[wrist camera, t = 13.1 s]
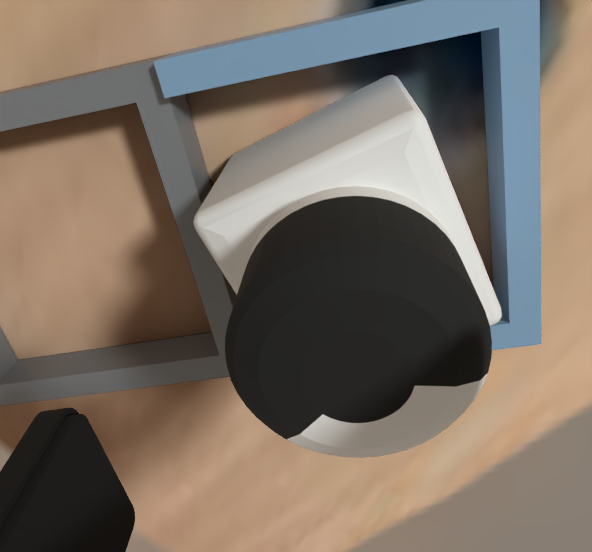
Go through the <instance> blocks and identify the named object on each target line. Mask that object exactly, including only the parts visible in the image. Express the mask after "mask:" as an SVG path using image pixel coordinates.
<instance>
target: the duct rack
mask: <svg viewBox="0 0 592 552" xmlns="http://www.w3.org/2000/svg"><path fill="white" fill-rule="evenodd" d="M479 31H481V46H482V66H483V86H484V106H485V127H486V147H487V167H488V187H489V207H490V227H491V247H492V268H493V288H494V292H495V294H496V297H497V299H498V302H499V304H500V307H501V313H502V317H501V319H500V321H499V322H497V323H496V324H494V325H491V326H490V330H491V338H492V350H498V349H505V348H513V347H521V346H529V345H537V344H541V199H540V0H407V1H403V2H398V3H394V4H389V5H385V6H380V7H376V8H372V9H367V10H363V11H358V12H354V13H349V14H345V15H341V16H336V17H332V18H327V19H323V20H318V21H314V22H309V23H305V24H301V25H296V26H292V27H287V28H283V29H278V30H274V31H269V32H265V33H261V34H256V35H252V36H247V37H243V38H238V39H234V40H230V41H225V42H221V43H216V44H212V45H207V46H203V47H198V48H194V49H190V50H185V51H181V52H176V53H172V54H167V55H163V56H158V57H154V58H150V59H145V60H141V61H136V62H132V63H127V64H123V65H118V66H114V67H110V68H105V69H101V70H96V71H92V72H87V73H83V74H79V75H74V76H70V77H65V78H61V79H56V80H52V81H47V82H43V83H39V84H34V85H30V86H25V87H21V88H16V89H12V90H7V91H3V92H0V132H1V131H6V130H10V129H15V128H20V127H24V126H29V125H34V124H38V123H43V122H48V121H52V120H57V119H62V118H67V117H71V116H76V115H81V114H85V113H90V112H95V111H99V110H104V109H109V108H114V107H118V106H123V105H128V104H132V103H137V106H138V109H139V112H140V115H141V118H142V121H143V124H144V127H145V130H146V133H147V137H148V140H149V143H150V146H151V149H152V152H153V155H154V158H155V161H156V164H157V167H158V170H159V173H160V176H161V179H162V182H163V185H164V188H165V191H166V194H167V197H168V200H169V203H170V206H171V209H172V212H173V215H174V218H175V221H176V225H177V228H178V231H179V234H180V237H181V240H182V243H183V246H184V249H185V252H186V255H187V258H188V261H189V264H190V267H191V270H192V273H193V276H194V279H195V282H196V285H197V288H198V291H199V294H200V297H201V300H202V303H203V306H204V309H205V312H206V316H207V319H208V322H209V325H210V328H211V331H212V333H205V334H198V335H191V336H184V337H177V338H170V339H163V340H156V341H149V342H141V343H134V344H127V345H120V346H113V347H106V348H99V349H92V350H85V351H78V352H71V353H64V354H57V355H50V356H43V357H36V358H29V359H22V360H18V359H17V357H16V355H15V353H14V351H13V350H12V348H11V346H10V344H9V342H8V340H7V338H6V337H5V335H4V333H3V331H2V329H1V327H0V406H5V405H12V404H20V403H28V402H36V401H43V400H51V399H59V398H67V397H75V396H82V395H90V394H98V393H106V392H113V391H121V390H129V389H137V388H145V387H152V386H160V385H168V384H176V383H183V382H191V381H199V380H207V379H215V378H222V377H230V375H229V371H228V368H227V363H226V356H225V336H226V331H227V326H228V321H229V318H230V315H231V312H232V309H233V306H234V302H235V299H236V296H237V295H236V293H235V291H234V290H233V288H232V287H231V285H230V283H229V282H228V280H227V279H226V277H225V276H224V274H223V272H222V271H221V269H220V268H219V266H218V265H217V263H216V261H215V260H214V258H213V257H212V255H211V253H210V252H209V250H208V249H207V247H206V246H205V244H204V242H203V241H202V239H201V238H200V236H199V234H198V233H197V231H196V230H195V227H194V223H193V221H194V217H195V215H196V213H197V211H198V210H199V208H200V207H201V205H202V203H203V202H204V200H205V198H206V197H207V195H208V194H209V192H210V190H211V189H212V186H211V183H210V179H209V176H208V172H207V169H206V165H205V162H204V159H203V155H202V152H201V148H200V145H199V141H198V138H197V134H196V131H195V127H194V124H193V120H192V117H191V113H190V110H189V107H188V103H187V100H186V96H185V94H188V93H192V92H197V91H202V90H206V89H211V88H216V87H220V86H225V85H230V84H235V83H239V82H244V81H249V80H253V79H258V78H263V77H268V76H272V75H277V74H282V73H286V72H291V71H296V70H300V69H305V68H310V67H315V66H319V65H324V64H329V63H333V62H338V61H343V60H348V59H352V58H357V57H362V56H366V55H371V54H376V53H380V52H385V51H390V50H395V49H399V48H404V47H409V46H413V45H418V44H423V43H428V42H432V41H437V40H442V39H446V38H451V37H456V36H460V35H465V34H470V33H475V32H479Z"/></svg>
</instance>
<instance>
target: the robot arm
mask: <svg viewBox="0 0 592 552" xmlns="http://www.w3.org/2000/svg"><path fill="white" fill-rule="evenodd" d="M134 522H135V512H134V508H133V505H132V503H131V501H130V500H129V498H128V496H127V494H126V492H125V490H124V488H123V486H122V484H121V482H120V480H119V479H118V477H117V475H116V473H115V471H114V469H113V467H112V465H111V463H110V461H109V459H108V457H107V456H106V454H105V452H104V450H103V448H102V446H101V444H100V442H99V440H98V438H97V436H96V434H95V433H94V431H93V429H92V427H91V425H90V423H89V421H88V419H87V418H86V416H84V415H83V414H79V413H78V412H77V411H76V410H75V409H73V408H63V409H56V410H49V411H43V412H40V413H39V414H38V415H37V416H36V417H35V418H34V420H33V422H32V423H31V425H30V426H29V428H28V429H27V431H26V432H25V434H24V436H23V437H22V439H21V440H20V442H19V443H18V445H17V446H16V448H15V450H14V451H13V453H12V454H11V456H10V457H9V459H8V461H7V462H6V464H5V465H4V467H3V469H2V470H1V472H0V552H125V551H126V548H127V545H128V542H129V539H130V536H131V533H132V530H133V527H134Z"/></svg>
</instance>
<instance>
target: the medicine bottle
mask: <svg viewBox="0 0 592 552" xmlns="http://www.w3.org/2000/svg"><path fill="white" fill-rule="evenodd" d="M193 223H194V227H195V230H196V231H197V233H198V234H199V236H200V238H201V239H202V241H203V242H204V244H205V246H206V247H207V249H208V250H209V252H210V253H211V255H212V257H213V258H214V260H215V261H216V263H217V265H218V266H219V268H220V269H221V271H222V272H223V274H224V276H225V277H226V279H227V280H228V282H229V283H230V285H231V287H232V288H233V290H234V291H235V293H236V295H237V296H236V299H235V302H234V306H233V309H232V312H231V315H230V318H229V321H228V326H227V331H226V336H225V356H226V363H227V368H228V371H229V375H230V378H231V381H232V383H233V385H234V387H235V389H236V391H237V393H238V395H239V396H240V398H241V399H242V401H243V402H244V403H245V405H246V406H247V407H248V408H249V410H250V411H251V412H252V413H253V414H254V415H255V416H256V417H257V418H258V419H259V420H260V421H262V422H263V423H264V424H265V425H266V426H268V427H269V428H270V429H271V430H273V431H274V432H276V433H277V434H279V435H280V436H282V437H283V438H285V439H287V440H289V441H291V442H293V443H295V444H297V445H299V446H301V447H304V448H307V449H309V450H312V451H315V452H319V453H324V454H328V455H334V456H341V457H359V458H362V457H376V456H382V455H388V454H393V453H397V452H400V451H404V450H407V449H410V448H412V447H415V446H417V445H420V444H422V443H424V442H426V441H427V440H429V439H431V438H433V437H435V436H436V435H438V434H439V433H441V432H442V431H443V430H445V429H446V428H448V427H449V426H450V425H451V424H452V423H453V422H454V421H455V420H456V419H458V418H459V417H460V416H461V415H462V414H463V413H464V412H465V411H466V409H467V408H468V407H469V406H470V405H471V403H472V402H473V401H474V400H475V398H476V396H477V395H478V393H479V391H480V390H481V388H482V386H483V383H484V381H485V379H486V376H487V374H488V370H489V366H490V361H491V353H492V338H491V330H490V326H491V325H494V324H496V323H497V322H499V321H500V319H501V317H502V313H501V307H500V304H499V302H498V299H497V297H496V294H495V292H494V289H493V287H492V284H491V282H490V279H489V277H488V274H487V272H486V269H485V266H484V264H483V261H482V259H481V256H480V254H479V251H478V249H477V246H476V244H475V241H474V239H473V236H472V234H471V231H470V229H469V226H468V224H467V221H466V219H465V216H464V214H463V211H462V209H461V206H460V204H459V201H458V199H457V196H456V194H455V191H454V189H453V186H452V184H451V181H450V179H449V176H448V173H447V171H446V168H445V166H444V163H443V161H442V158H441V156H440V153H439V151H438V148H437V146H436V143H435V141H434V138H433V136H432V133H431V131H430V128H429V126H428V123H427V121H426V118H425V117H424V115H423V114H422V112H421V111H420V109H419V108H418V106H417V105H416V103H415V102H414V100H413V99H412V97H411V96H410V94H409V93H408V92H407V90H406V89H405V87H404V86H403V84H402V83H401V81H400V80H399V79H398V77H397V76H394V75H388V76H385V77H383V78H381V79H379V80H377V81H375V82H373V83H371V84H369V85H367V86H365V87H363V88H361V89H359V90H358V91H356V92H354V93H352V94H350V95H348V96H346V97H344V98H342V99H340V100H338V101H336V102H334V103H332V104H330V105H328V106H326V107H324V108H322V109H320V110H318V111H316V112H314V113H312V114H310V115H308V116H306V117H304V118H302V119H300V120H298V121H296V122H294V123H293V124H291V125H289V126H287V127H285V128H283V129H281V130H279V131H277V132H275V133H273V134H271V135H269V136H267V137H265V138H263V139H261V140H259V141H257V142H255V143H253V144H251V145H249V146H247V147H245V148H243V149H241V150H239V151H237V152H235V153H234V154H233V155H232V156H231V158H230V159H229V161H228V163H227V164H226V166H225V168H224V169H223V171H222V172H221V174H220V176H219V177H218V179H217V181H216V182H215V184H214V185H213V187H212V189H211V190H210V192H209V194H208V195H207V197H206V198H205V200H204V202H203V203H202V205H201V207H200V208H199V210H198V211H197V213H196V215H195V217H194V221H193Z"/></svg>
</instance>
